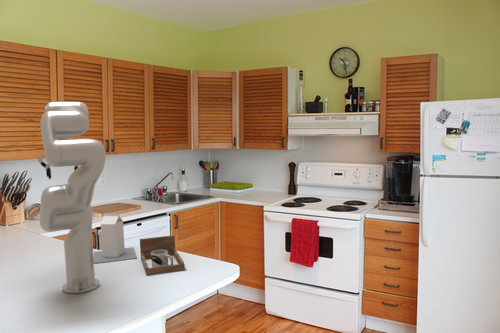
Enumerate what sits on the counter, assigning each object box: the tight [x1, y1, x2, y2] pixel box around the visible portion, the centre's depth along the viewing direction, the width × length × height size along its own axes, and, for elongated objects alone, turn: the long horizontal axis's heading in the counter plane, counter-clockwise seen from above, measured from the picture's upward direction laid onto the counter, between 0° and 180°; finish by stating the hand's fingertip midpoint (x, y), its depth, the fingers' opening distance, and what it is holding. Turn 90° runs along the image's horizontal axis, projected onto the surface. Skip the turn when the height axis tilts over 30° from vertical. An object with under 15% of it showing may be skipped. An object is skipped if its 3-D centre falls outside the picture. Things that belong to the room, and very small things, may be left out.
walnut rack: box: [139, 234, 186, 276], centre depth 182 cm, size 22×15×9 cm, turn 19°
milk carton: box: [100, 212, 126, 257], centre depth 196 cm, size 7×7×19 cm
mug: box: [151, 250, 174, 268], centre depth 177 cm, size 10×7×7 cm
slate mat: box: [93, 246, 138, 265], centre depth 197 cm, size 18×18×1 cm
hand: (63, 177), depth 174 cm, fingers open, 9 cm apart
